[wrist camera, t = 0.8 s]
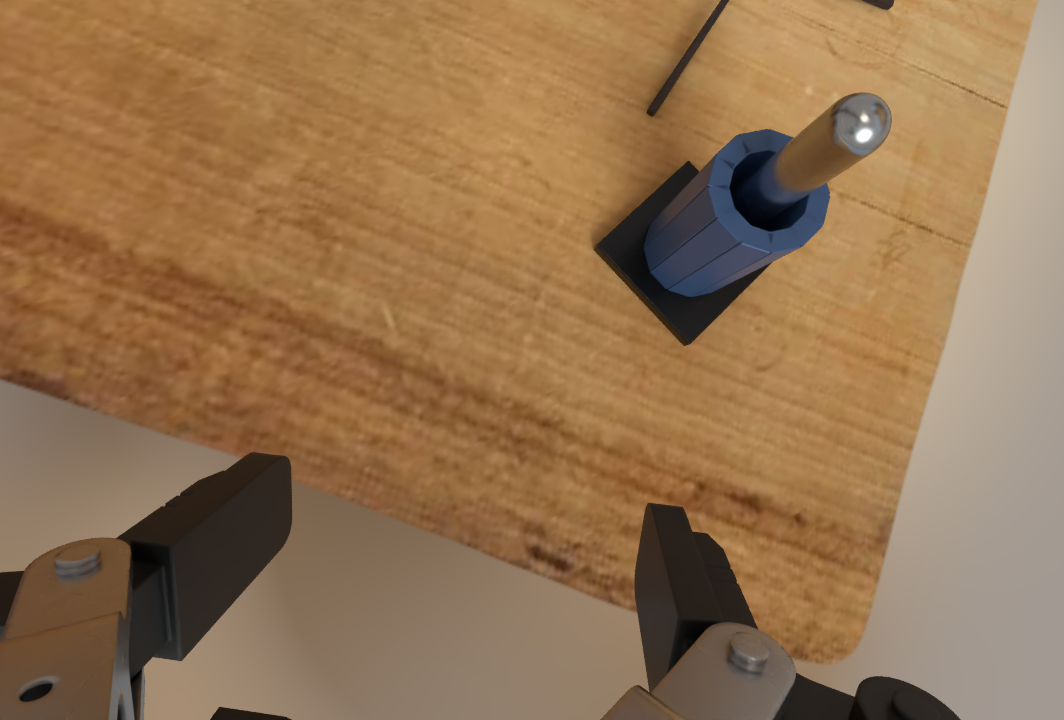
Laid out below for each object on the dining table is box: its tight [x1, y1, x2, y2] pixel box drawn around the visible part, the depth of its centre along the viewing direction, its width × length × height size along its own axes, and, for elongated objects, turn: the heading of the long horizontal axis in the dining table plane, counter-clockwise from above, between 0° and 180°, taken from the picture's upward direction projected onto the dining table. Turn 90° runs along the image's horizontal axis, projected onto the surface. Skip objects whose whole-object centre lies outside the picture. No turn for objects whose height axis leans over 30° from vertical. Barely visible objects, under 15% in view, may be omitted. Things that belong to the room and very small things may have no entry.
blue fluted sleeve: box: [644, 129, 830, 297], centre depth 32 cm, size 6×6×10 cm
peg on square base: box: [594, 92, 892, 346], centre depth 29 cm, size 9×9×18 cm
